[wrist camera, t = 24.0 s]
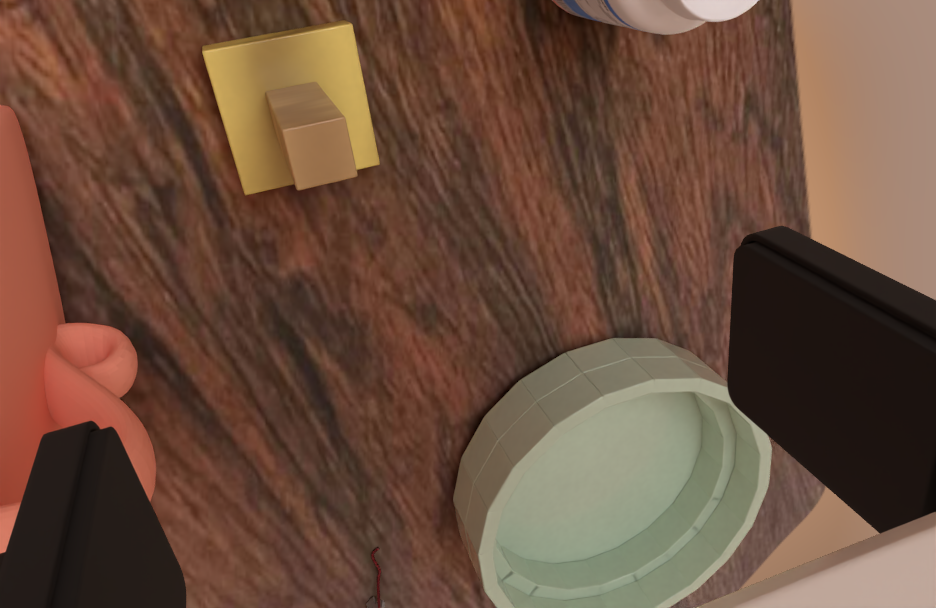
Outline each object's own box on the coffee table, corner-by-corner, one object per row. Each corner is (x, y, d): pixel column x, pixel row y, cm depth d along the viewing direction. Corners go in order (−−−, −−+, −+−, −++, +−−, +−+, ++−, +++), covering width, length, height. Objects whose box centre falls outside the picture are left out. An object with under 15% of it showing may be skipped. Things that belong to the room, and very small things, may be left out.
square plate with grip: (345, 19, 29) (390, 44, 22) (373, 155, 32) (421, 215, 25) (201, 46, 28) (202, 81, 21) (242, 185, 30) (255, 256, 24)
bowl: (723, 296, 41) (783, 338, 37) (713, 520, 50) (761, 574, 46) (428, 385, 38) (457, 442, 33) (472, 610, 46) (500, 678, 42)
